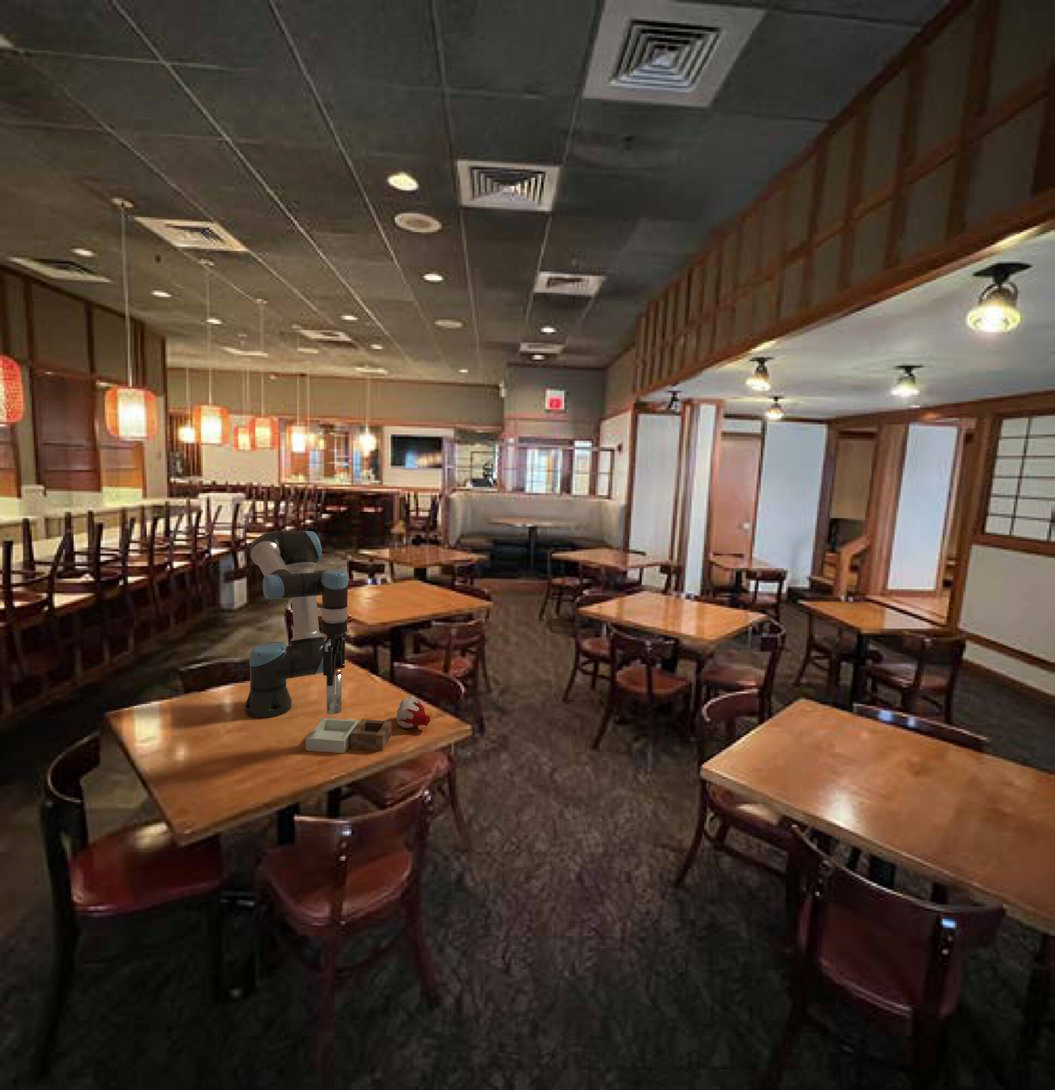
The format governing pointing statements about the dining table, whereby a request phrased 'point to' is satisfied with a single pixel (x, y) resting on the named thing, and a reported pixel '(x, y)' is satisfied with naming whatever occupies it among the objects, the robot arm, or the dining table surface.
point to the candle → (412, 713)
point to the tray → (331, 735)
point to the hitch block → (371, 735)
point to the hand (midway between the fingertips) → (334, 691)
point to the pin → (335, 700)
